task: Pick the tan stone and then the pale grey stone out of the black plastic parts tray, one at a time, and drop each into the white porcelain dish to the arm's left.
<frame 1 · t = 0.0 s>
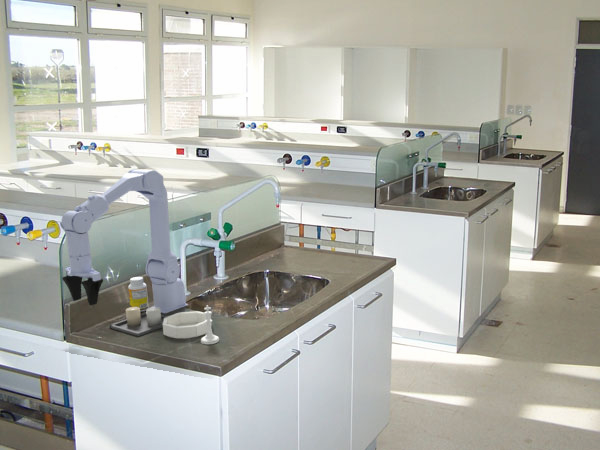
hand: (85, 302, 197), 10 cm above the counter, tool pointing down, fingers open, 7 cm apart
chess piece: (210, 341, 191), on the counter
tray: (143, 326, 206), on the counter
pebble tan: (134, 323, 207), resting on tray
bowl: (188, 331, 200), on the counter
pebble grey: (154, 324, 206), resting on tray
supplement bottle: (139, 310, 221), on the counter
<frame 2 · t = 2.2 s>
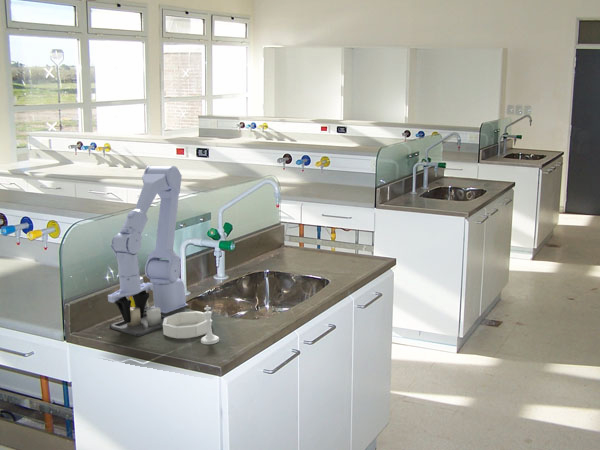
hand: (133, 319, 207), 2 cm above the counter, tool pointing down, fingers closed on pebble tan, 4 cm apart
pebble tan: (134, 323, 207), resting on tray, touching gripper
everything else where it was.
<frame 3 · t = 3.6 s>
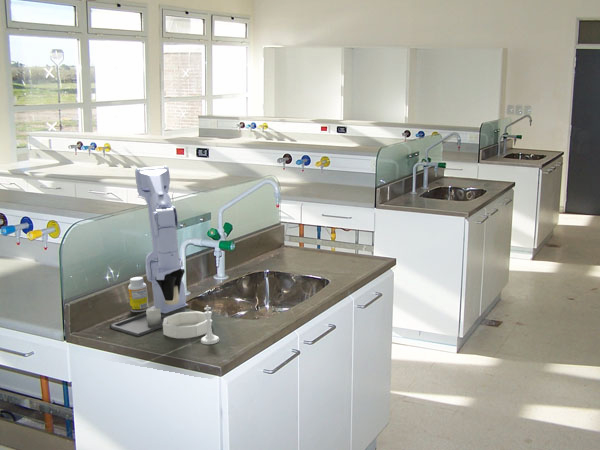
hand: (172, 297, 201), 9 cm above the counter, tool pointing down, fingers closed on pebble tan, 4 cm apart
pebble tan: (172, 302, 201), point 8 cm above the counter, touching gripper
everything else where it was.
when the fingers open (5 cm above the counter, at t = 5.0 s): pebble tan drops 3 cm, resting on bowl.
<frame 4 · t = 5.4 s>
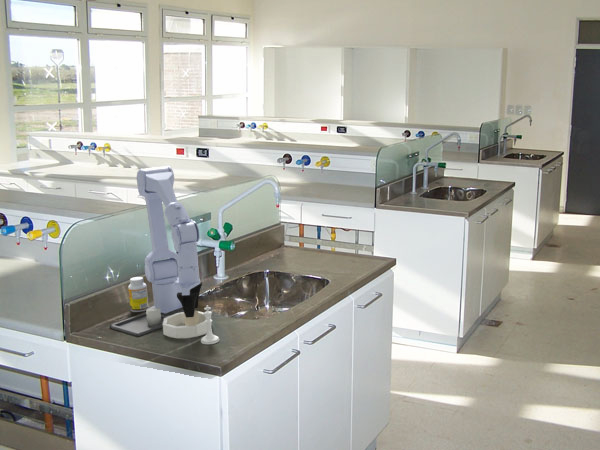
hand: (191, 312, 200), 5 cm above the counter, tool pointing down, fingers open, 7 cm apart
pebble tan: (192, 327, 201), point 1 cm above the counter, touching bowl
everything else where it was.
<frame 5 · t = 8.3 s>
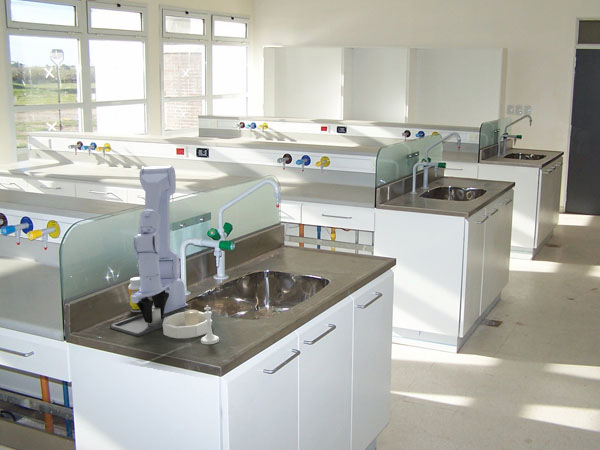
hand: (154, 319, 205), 2 cm above the counter, tool pointing down, fingers closed on pebble grey, 4 cm apart
pebble grey: (154, 324, 206), resting on tray, touching gripper
everything else where it was.
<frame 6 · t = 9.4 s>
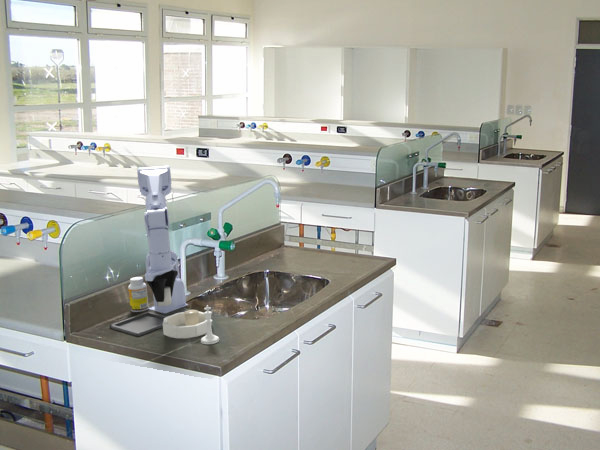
hand: (164, 299, 200), 9 cm above the counter, tool pointing down, fingers closed on pebble grey, 4 cm apart
pebble grey: (164, 303, 200), point 8 cm above the counter, touching gripper
everything else where it was.
when the fingers open (5 cm above the counter, at t = 10.6 s): pebble grey drops 4 cm, resting on bowl.
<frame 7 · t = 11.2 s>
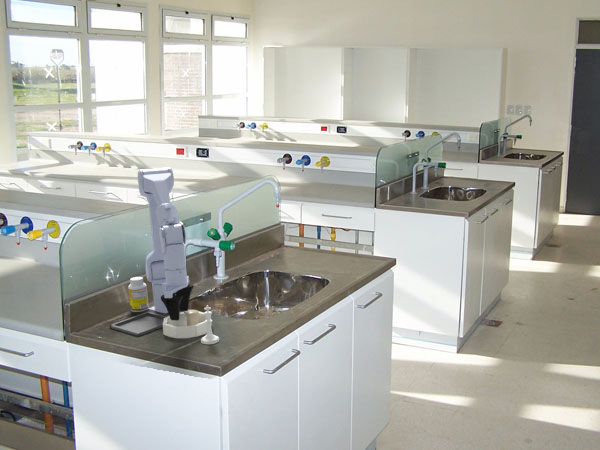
hand: (179, 315, 197), 5 cm above the counter, tool pointing down, fingers open, 7 cm apart
pebble grey: (180, 332, 198), point 1 cm above the counter, touching bowl
everything else where it was.
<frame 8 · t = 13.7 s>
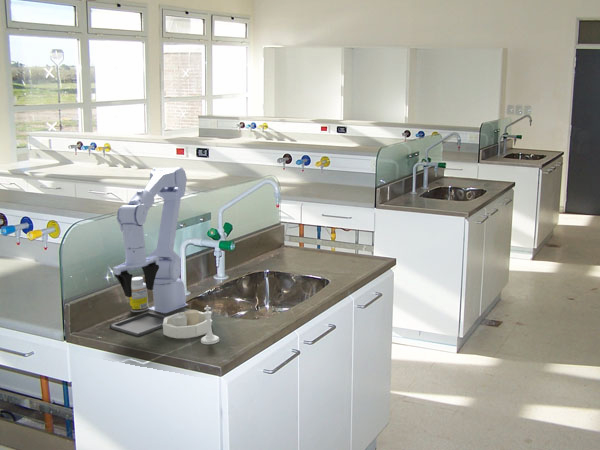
hand: (139, 292, 204), 10 cm above the counter, tool pointing down, fingers open, 7 cm apart
nothing on the counter moved.
at the end: pebble tan inside the target area on the bowl (1.9 cm from its centre), point 0.5 cm above the bowl's base; pebble grey inside the target area on the bowl (2.6 cm from its centre), point 0.5 cm above the bowl's base; the gripper is holding nothing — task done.
